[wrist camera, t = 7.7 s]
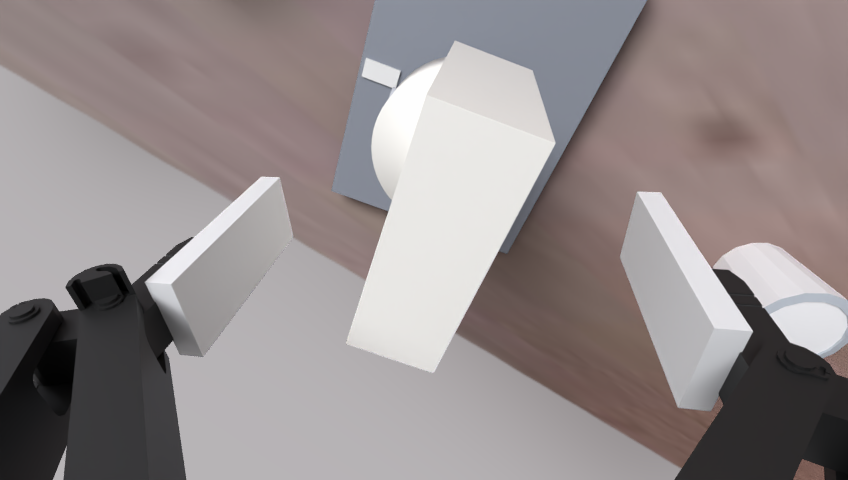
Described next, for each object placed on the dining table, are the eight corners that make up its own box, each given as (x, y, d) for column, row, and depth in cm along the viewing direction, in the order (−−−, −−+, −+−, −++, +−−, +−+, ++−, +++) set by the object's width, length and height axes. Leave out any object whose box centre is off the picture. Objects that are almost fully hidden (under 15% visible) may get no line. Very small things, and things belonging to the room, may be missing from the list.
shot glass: (818, 243, 33) (887, 303, 27) (770, 309, 37) (821, 375, 31) (726, 229, 33) (774, 285, 28) (687, 296, 37) (722, 358, 31)
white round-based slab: (413, 13, 21) (337, 61, 11) (573, 74, 21) (639, 174, 11) (359, 208, 27) (280, 350, 17) (483, 252, 28) (475, 415, 18)
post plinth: (646, -19, 26) (698, -12, 19) (506, 240, 37) (508, 302, 30) (409, -116, 25) (376, -143, 18) (339, 180, 36) (303, 230, 29)
